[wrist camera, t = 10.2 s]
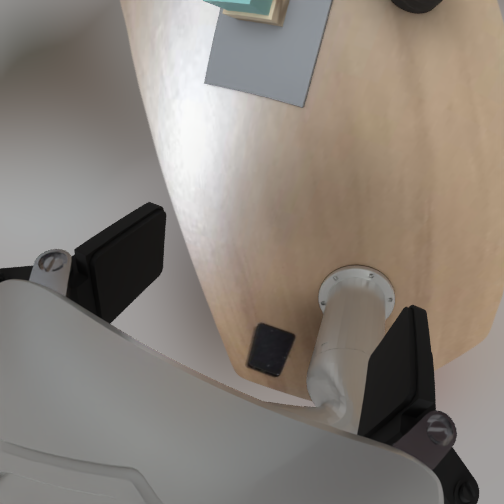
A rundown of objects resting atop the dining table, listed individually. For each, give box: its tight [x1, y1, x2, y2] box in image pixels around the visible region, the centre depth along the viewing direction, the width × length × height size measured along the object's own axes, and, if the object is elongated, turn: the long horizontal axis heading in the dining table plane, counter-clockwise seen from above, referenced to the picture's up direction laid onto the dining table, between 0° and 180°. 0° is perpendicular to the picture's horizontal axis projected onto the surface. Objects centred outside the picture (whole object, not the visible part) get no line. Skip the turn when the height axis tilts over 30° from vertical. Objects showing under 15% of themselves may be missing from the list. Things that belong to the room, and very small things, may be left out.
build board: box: [204, 0, 333, 107], centre depth 32 cm, size 18×14×1 cm
